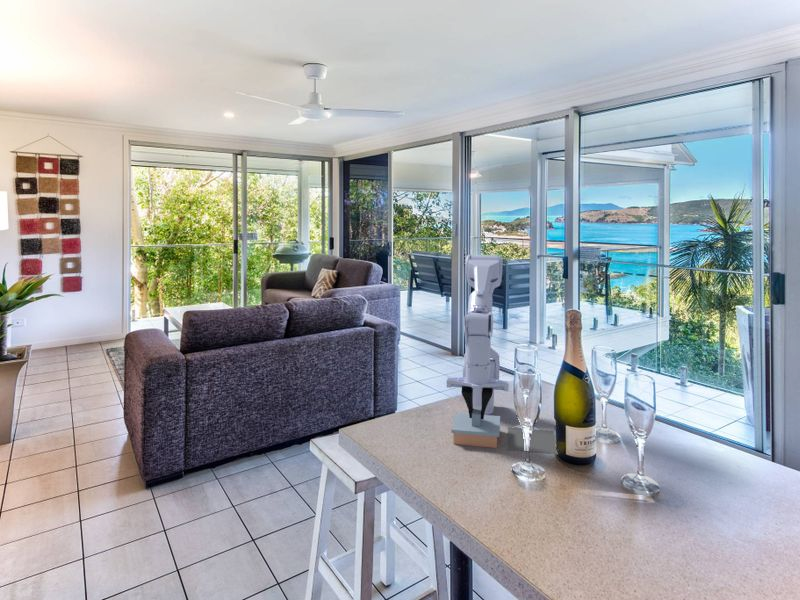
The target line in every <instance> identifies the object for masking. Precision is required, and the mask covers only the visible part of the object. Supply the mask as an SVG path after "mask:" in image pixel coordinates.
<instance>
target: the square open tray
mask: <svg viewBox="0 0 800 600" xmlns="http://www.w3.org/2000/svg"><path fill="white" fill-rule="evenodd" d="M452 442H453V445H461V446H470V447H471V446H472V447H480V448H481V447H482V448H490V449H491V448H493V449H497V448H498V437H494V436H482V435H470V434H458V433H453V441H452Z"/></svg>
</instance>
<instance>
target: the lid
mask: <svg viewBox="0 0 800 600" xmlns="http://www.w3.org/2000/svg"><path fill="white" fill-rule="evenodd" d="M481 408H482V407H473V411H472V418H469V413H463V412H455V416H454V419H453V423H452V427H451V430H450V431H451V434H454V433H458V434H470V435H482V436H494V437H497V438H499V437H500V431H501V416H500V415H492V414H488V415H484V419H481Z"/></svg>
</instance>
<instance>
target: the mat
mask: <svg viewBox="0 0 800 600" xmlns="http://www.w3.org/2000/svg"><path fill="white" fill-rule="evenodd" d="M532 429H533V431H532V434H531V440H530V447H529V452H528V453H539V454H548V455H549V454H550V455H559V452H557V451H558V449H557V450H556V446H557V445H556V446H555V442H556V438H555V432H554V430H548V429H535V428H532ZM507 451H514V452H525V451H524V439H523V432H522V429H521V427H512V426H511V427H509V426H508V427H507Z"/></svg>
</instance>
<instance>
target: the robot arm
mask: <svg viewBox="0 0 800 600" xmlns="http://www.w3.org/2000/svg"><path fill="white" fill-rule="evenodd" d="M503 257H504V256H502V254H498V255H497V254H471V253H470V254H468V255H466V259H465V276H466V282H467V284H468V286H470V287H472V288H473V289H474V290H473V291H472V292H471V293H470V294H469V297H468V305H467V307H468V308H467V313H466V314H465V315H464V319H463V320H464V321H463V332H464V333H463V334H464V344H465V353H464V355H463V362H462V377H461V376H458V377H450V376H449V377H447V378H446V388H452V387H453V388H461V395H462V398H463V400H464V401H465V404H466V407H467V412H468V414H469V418H472V411H473V407H482V408H481V419H484V415H492V414H493V413H494V410H495V407H496V405H495V404H494V403H495V391H499V390H500V391H503V392H509V386H510V385H509V384H510V383H509V380H501V379H500V370H501V369H500V367H501V366H500V362H501V361H500V355H499V353H498V351H496V350H495V349H493V348H492V347H491V342H492V341H491V340H492V336H493V331H494V316H493V294H494V291H495V289H496V288H498V287H500V286H501V283H502V279H503V278H502V277H503V263H504V262H503V260H504V259H503Z"/></svg>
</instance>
